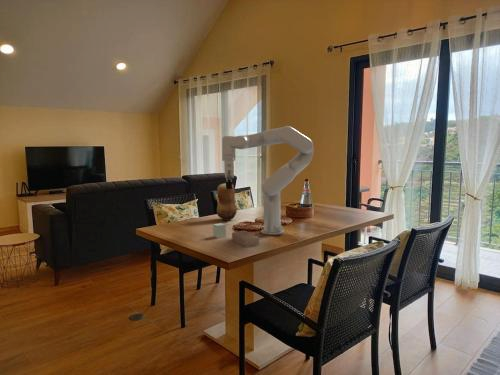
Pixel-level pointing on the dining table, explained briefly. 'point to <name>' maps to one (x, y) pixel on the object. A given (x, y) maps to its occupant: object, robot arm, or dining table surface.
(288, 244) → the dining table surface
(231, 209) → the brown oblong lump
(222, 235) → the block
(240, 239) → the brick
